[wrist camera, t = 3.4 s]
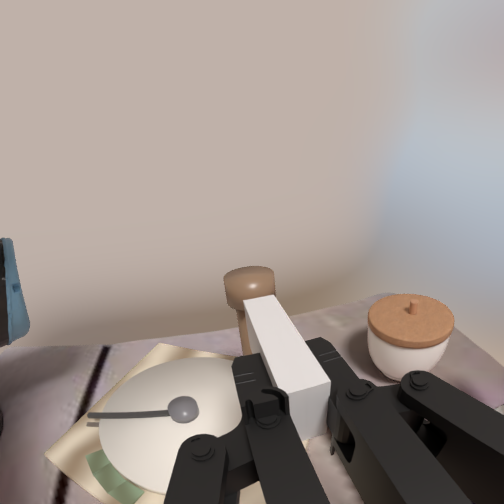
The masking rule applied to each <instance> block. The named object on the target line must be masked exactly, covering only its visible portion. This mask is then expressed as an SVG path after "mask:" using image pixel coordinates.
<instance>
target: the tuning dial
mask: <svg viewBox="0 0 504 504" xmlns="http://www.w3.org/2000/svg"><path fill="white" fill-rule="evenodd" d="M224 285H225V292H226V298H227V303H228V305H229V306H230V307H231V308H234V309H236V312H237V319H238V324H239V332H240V338H241V344H242V351H243V356H245V355H250V354H252V351H251V348H250V343H249V337H248V330H247V323H246V317H245V310H244V303H243V300H248V299H253V298H259V297H264V296H269V295H274V296H275V297H276V293H275V280H274V272H273V271H272V270H271V269H270V268H267V267H261V266H249V267H242V268H238V269H235V270H232V271H230V272H228V273H227V274H226V275H225V276H224ZM232 363H233V361H232V360H227V359H221V358H213V357H193V358H184V359H178V360H173V361H169V362H165V363H162V364H159V365H156V366H153V367H151V368H148V369H146V370H144V371H142V372H140V373H138V374H137V375H135V376H133V377H132V378H130V379H129V380H127V381H126V382H125V383H124V384H122V385H121V386H120V387H119V388H118V389H117V390H116V391H115V392H114V393H113V394H112V396H111V397H110V398H109V400H108V401H107V403H106V405H105V407H104V409H103V411H102V412H88V414H87V417H88V418H92V419H100V422H99V437H100V442H101V445H102V448H103V451H104V453H105V454H106V456H107V458H108V459H109V461H110V462H111V463H112V464H113V465H114V467H115V468H116V469H117V470H118V471H119V472H120V473H121V474H122V475H123V476H124V477H125V478H126V479H128V480H129V481H130V482H132V483H134V484H135V485H137V486H138V487H141V488H143V489H145V490H147V491H150V492H153V493H156V494H160V495H164V496H165V495H166V492H167V488H168V485H169V481H170V478H171V474H172V471H173V467H174V464H175V460H176V457H177V453H178V450H179V448H180V446H181V444H182V443H183V442H184V441H185V440H186V439H187V438H189V437H192V436H194V435H197V434H210V435H214V436H216V437H220V436H222V435H224V434H227V433H228V432H230V431H232V430H233V429H235V428H236V427H237V426H238V424H239V423H240V421H241V418H242V412H241V408H240V403H239V399H238V395H237V390H236V386H235V381H234V377H233V372H232V367H231V366H232Z"/></svg>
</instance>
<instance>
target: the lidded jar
mask: <svg viewBox="0 0 504 504" xmlns="http://www.w3.org/2000/svg"><path fill="white" fill-rule="evenodd" d="M453 327H454V316H453V314H452V312H451V311H450V309H449V308H448V307H447V306H446V305H444V304H443V303H441V302H440V301H437V300H435V299H433V298H430V297H427V296H422V295H416V294H397V295H391V296H387V297H384V298H382V299H380V300H378V301H377V302H375V303H374V304H373V305H372V306H371V308H370V309H369V312H368V334H367V339H368V349H369V353H370V356H371V358H372V361H373V362H374V364H375V365H376V367H377V368H378V369H379V370H381V372H382V373H383V374H384V375H385V376H386V377H388V378H390V379H392V380H395V381H401V378H402V377H403V376H404V375H405V374H406V373H408V372H410V371H415V370H422V371H426V372H429V371H430V370H431V369H432V368H433V367H434V366H435V365H436V364H437V363H438V362H439V360H440V359H441V357H442V355H443V353H444V351H445V349H446V347H447V344H448V341H449V338H450V335H451V333H452V330H453Z"/></svg>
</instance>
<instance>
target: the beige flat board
mask: <svg viewBox="0 0 504 504" xmlns="http://www.w3.org/2000/svg"><path fill="white" fill-rule="evenodd" d="M193 357H213V358H221V359H227V360H232V361H234V358H235V356H228V355H222V354H216V353H210V352H204V351H198V350H193V349H187V348H182V347H177V346H172V345H168V344H163V343H158V344H157V345H156V346H155V347H154V348H153V349H152V350H151V351H150V352H149V353H148V354H147V355H146V356H145V357H144V358H143V359H142V360H141V361H140V362H139V363H138V364H137V365H136V366H135V367H133V368H132V369H131V370H130V371H129V372H128V373H127V374H126V375H125V376H124V377H123V378H122V379H121V380H120V381H119V382H118V383H117V384H116V385H115V386H114V387H113V388H112V389H111V390H110V391H109V392H108V393H106V394H105V395H104V396H103V397H102V398H101V399H100V400H99V401H98V402H97V403H96V404H95V405H94V406H93V407H92V408H91V409H90V410H89V411H88V412H102V411H103V409H104V407H105V405H106V403H107V401H108V400H109V398H110V397H111V396H112V394H113V393H114V392H115V391H116V390H117V389H118V388H119V387H120V386H121V385H122V384H124V383H125V382H126V381H127V380H129V379H130V378H132V377H133V376H135V375H137V374H138V373H140V372H142V371H144V370H146V369H148V368H151V367H153V366H156V365H159V364H162V363H165V362H169V361H173V360H178V359H184V358H193ZM88 412H87V413H86V414H85V415H84V416H83V417H82V418H80V419H79V420H78V421H77V422H76V423H75V424H74V425H73V426H72V427H71V428H70V429H69V430H68V431H67V432H66V433H65V434H64V435H63V436H62V437H61V438H60V439H59V440H58V441H57V442H56V443H54V444H53V445H52V446H51V447H50V448H49V449H48V450H47V451H46V452H45V453H44V455H45V456H46V457H47V458H48V459H49V460H50V461H51V462H52V463H53V464H54V465H55V466H56V467H57V468H58V469H60V470H61V471H62V472H63V473H64V474H65V475H67V476H68V477H69V478H70V479H71V480H73V481H74V482H75V483H76V484H78V485H79V486H80V487H81V488H83V489H84V490H85V491H87V492H88V493H89V494H91V495H92V496H93V497H95V498H96V499H98V500H99V501H101V502H102V503H103V504H163V503H164V499H165V496H164V495H160V494H156V493H153V492H150V491H147V490H145V489H143V488H141V487H138V486H137V485H135V484H134V483H132V482H130V481H129V480H128V479H126V478H125V477H124V476H123V475H122V474H121V473H120V472H119V471H118V470H117V469H116V468H115V467H114V465H113V464H112V463H111V462H110V461H109V459H108V458H107V456H106V454H105V453H104V451H103V448H102V445H101V442H100V437H99V422H100V419H92V418H88V417H87V414H88ZM309 440H310V439H307V440H304V441H302V443H303V445H304V448H305V450H306V451H307V448H308V444H309ZM239 504H266V502H265V499H264V496H263V492H262V489H261V485H260V482H259V481H258V482H256V483H254V484H252V485H250V486H248V487H246V488H244V489H242V490H240V501H239Z"/></svg>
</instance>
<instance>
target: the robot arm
mask: <svg viewBox="0 0 504 504" xmlns="http://www.w3.org/2000/svg"><path fill="white" fill-rule="evenodd" d="M243 303H244V310H245V317H246V323H247V330H248V337H249V343H250V348H251V351H252V354H250V355H245V356H240V357H235V358H234V361H233V363H232V366H231V367H232V372H233V377H234V381H235V386H236V390H237V395H238V399H239V403H240V408H241V412H242V418H241V421H240V423H239V424H238V426H237V427H236V428H235V429H233V430H232V431H230V432H228V433H227V434H224V435H222V436H220V437H216V436H214V435H210V434H197V435H194V436H192V437H189V438H187V439H186V440H185V441H184V442H183V443H182V444H181V446H180V448H179V450H178V453H177V457H176V460H175V464H174V467H173V471H172V474H171V478H170V481H169V485H168V488H167V492H166V495H165V499H164V503H163V504H239V501H240V490H242V489H244V488H246V487H248V486H250V485H252V484H254V483H256V482H258V481H259V482H260V485H261V489H262V492H263V496H264V499H265V502H266V504H330V502H329V500H328V498H327V496H326V494H325V492H324V489H323V487H322V485H321V483H320V481H319V479H318V476H317V474H316V472H315V470H314V468H313V465H312V463H311V461H310V459H309V457H308V454H307V452H306V450H305V448H304V445H303V443H302V441H304V440H307V439H311V438H314V437H317V436H320V435H323V434H326V433H327V425H328V427H329V429H330V430H331V432H332V440H331V447H330V453H331V455H334V451H335V450H336V452H337V454H338V456H339V457H340V459H341V461H342V463H343V465H344V467H345V469H346V470H347V472H348V474H349V476H350V478H351V480H352V481H353V483H354V485H355V487H356V489H357V490H358V492H359V494H360V496H361V498H362V500H363V501H364V503H365V504H472V503H471V501H473V502H474V503H476V504H504V415H503V414H501V413H499V412H498V411H496V410H494V409H492V408H490V407H489V406H487V405H485V404H483V403H482V402H480V401H478V400H476V399H475V398H473V397H471V396H469V395H468V394H466V393H464V392H462V391H461V390H459V389H457V388H455V387H454V386H452V385H450V384H448V383H447V382H445V381H443V380H441V379H440V378H438V377H436V376H435V375H433V374H431V373H429V372H426V371H422V370H415V371H410V372H408V373H406V374H405V375H404V376H403V377H402V378H401V382H400V384H396V385H390V386H381V387H377V386H376V385H374V384H373V383H372V382H370V381H367V380H364V379H359V378H358V377H357V375H356V374H355V373H354V372H353V370H352V369H351V368H350V367H349V365H348V364H347V363H346V362H345V360H344V359H343V358H342V357H341V355H340V354H339V353H338V352H337V351H336V349H335V348H334V347H333V345H332V344H331V343H330V342H329V341H327V340H325V339H323V338H321V337H319V338H315V339H311V340H308V341H304V340H303V338H302V337H301V335H300V334H299V332H298V331H297V329H296V328H295V326H294V325H293V323H292V322H291V320H290V319H289V317H288V316H287V314H286V313H285V311H284V309H283V308H282V306H281V305H280V303H279V302H278V300H277V299H276V297H275V296H274V295H269V296H264V297H259V298H253V299H248V300H243ZM29 328H30V321H29V317H28V313H27V310H26V306H25V302H24V298H23V294H22V289H21V285H20V280H19V275H18V271H17V265H16V259H15V254H14V248H13V241H12V240H11V239H10V238H1V239H0V347H3V346H5V345H10V344H11V343H12V342H13V341H15V340H16V339H19V338H21V337H23V336H25V335H26V334H27V333H28V331H29ZM425 419H426V420H425ZM427 420H428V421H427ZM2 422H3V421H2V414H1V411H0V434H1V430H2ZM468 498H469V499H470V500H471V501H470V500H469V499H468Z"/></svg>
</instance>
